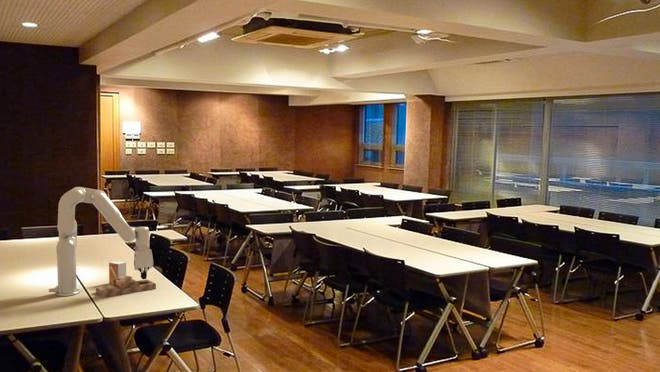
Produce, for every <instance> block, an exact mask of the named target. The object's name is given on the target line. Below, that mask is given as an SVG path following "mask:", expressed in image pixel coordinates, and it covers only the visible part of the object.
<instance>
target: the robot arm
mask: <svg viewBox="0 0 660 372" xmlns="http://www.w3.org/2000/svg"><path fill="white" fill-rule="evenodd" d="M107 195H108V194H107V193H106V191H104V190H101V189H94V188H89V187H84V186H75V187H73V188H72V189H70V190H68V191H66V192H65V193H63V195H62V196H61V197H60V198H59V199H60V200H59V202H58V209H57V211H58V213H57V226H56V227H57V231H58V241H57V243H56V246H55V248H56V250H55V253H56V262H57V264H56V267H57V269H56V270H57V285H56V286H55V287H53V288H48V293H54V295H55V296H57V297H68V296H74V295H78V294H79V293H80V289H78V287H77V260H76V258H77V257H76V256H77V255H76V254H77V253H76V249H77V248H76V247H77V244H78V223H77V221H76V219H75V218H76V217H75V216H76V206H77V205H78V204H79V203H86V204H93V206H94V207H95V208H96V209H97V211H99V213H100V214H101V215H102V216H103V217H104V219H105V220H106V221H107V223H108V224H109V225H110V226H111V227H112V228H113V230H114V231H115V232H116V234H117V235H118V236H119V237H120V238H121V239H122V241H124V242H125V243H126V242H127V243H129V242H133V241H134V240H135V246H133V250H134V254H133V255H134V256H133V267H134V268H133V269H134V271H139V272H140V278H141V279H142V280H147V277H148V275H147V273H148V271H149V270H150V269H152V268H153V266H154V258H153V257H154V256H153V252H152V249H150V245H151V244H150V228H149V227H148V226H130V225H129V224H128V222H127V221H126V220H125V219H124V217H123V215H122V214H121V211H120V210H119V208H118V207H117V206H116V205H115V204H114V203H113V201H112V200H111V199H110V198H109V196H107Z"/></svg>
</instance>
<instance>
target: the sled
mask: <svg viewBox="0 0 660 372" xmlns="http://www.w3.org/2000/svg"><path fill="white" fill-rule="evenodd" d="M135 281H136V280H135V279H133V278H132V281H131V282H135ZM125 283H128V282H125ZM121 284H122V282H120V280H116V285H118V286H119V287H121Z"/></svg>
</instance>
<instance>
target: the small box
mask: <svg viewBox="0 0 660 372" xmlns="http://www.w3.org/2000/svg"><path fill="white" fill-rule="evenodd" d="M122 276H127V262H126V261H120V260H115V261H110V262H108V278H109V279H108V283H109V285H113V279H120V277H122Z"/></svg>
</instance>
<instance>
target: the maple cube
mask: <svg viewBox="0 0 660 372" xmlns="http://www.w3.org/2000/svg"><path fill="white" fill-rule="evenodd" d="M132 279H133V277H132V276H130V275H126V276H122V277H120V282H122V283H125V282H131V281H132Z"/></svg>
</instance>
